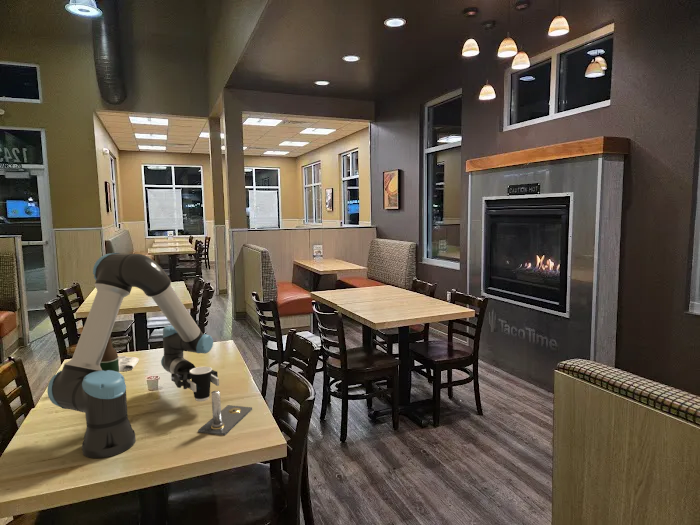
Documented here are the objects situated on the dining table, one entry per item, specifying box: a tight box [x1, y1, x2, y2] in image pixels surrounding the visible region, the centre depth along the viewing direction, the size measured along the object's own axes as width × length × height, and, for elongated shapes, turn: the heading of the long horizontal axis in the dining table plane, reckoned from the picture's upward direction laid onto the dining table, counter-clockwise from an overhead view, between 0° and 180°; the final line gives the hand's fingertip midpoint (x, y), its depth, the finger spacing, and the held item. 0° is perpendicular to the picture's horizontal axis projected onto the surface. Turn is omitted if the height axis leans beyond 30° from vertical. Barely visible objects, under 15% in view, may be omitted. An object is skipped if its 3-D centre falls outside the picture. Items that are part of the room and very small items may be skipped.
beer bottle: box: [100, 335, 120, 373], centre depth 199 cm, size 8×8×24 cm
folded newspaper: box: [118, 355, 140, 373], centre depth 220 cm, size 3×18×15 cm
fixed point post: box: [210, 390, 223, 428], centre depth 156 cm, size 4×4×12 cm
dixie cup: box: [189, 366, 213, 402], centre depth 169 cm, size 8×8×11 cm
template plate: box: [197, 404, 253, 436], centre depth 163 cm, size 20×10×1 cm, turn 166°
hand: (206, 385), depth 165 cm, fingers closed on dixie cup, 8 cm apart
